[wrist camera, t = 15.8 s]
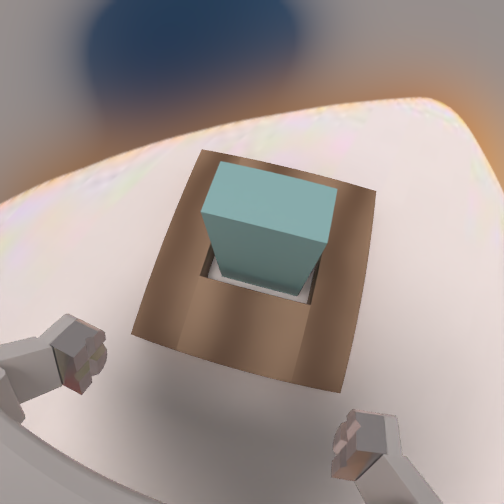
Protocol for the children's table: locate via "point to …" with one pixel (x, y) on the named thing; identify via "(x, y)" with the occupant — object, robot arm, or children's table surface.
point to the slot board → (256, 303)
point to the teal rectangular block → (267, 226)
